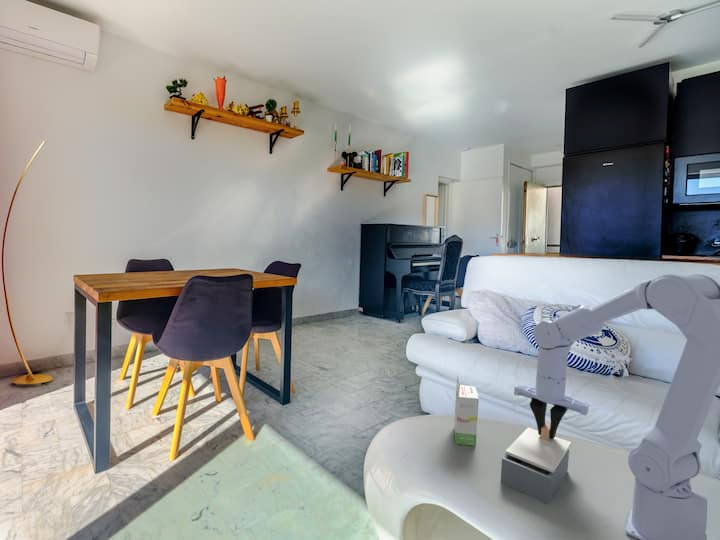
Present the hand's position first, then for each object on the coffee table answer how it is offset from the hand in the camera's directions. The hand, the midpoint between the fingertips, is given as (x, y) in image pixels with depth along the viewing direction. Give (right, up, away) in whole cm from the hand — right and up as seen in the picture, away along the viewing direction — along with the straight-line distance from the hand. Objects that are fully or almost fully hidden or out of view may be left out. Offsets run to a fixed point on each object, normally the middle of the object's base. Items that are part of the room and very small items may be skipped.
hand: (546, 435), depth 81 cm
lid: (-4, -1, -4) cm, 5 cm away
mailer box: (-5, -7, -5) cm, 9 cm away
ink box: (-15, -5, +11) cm, 19 cm away
